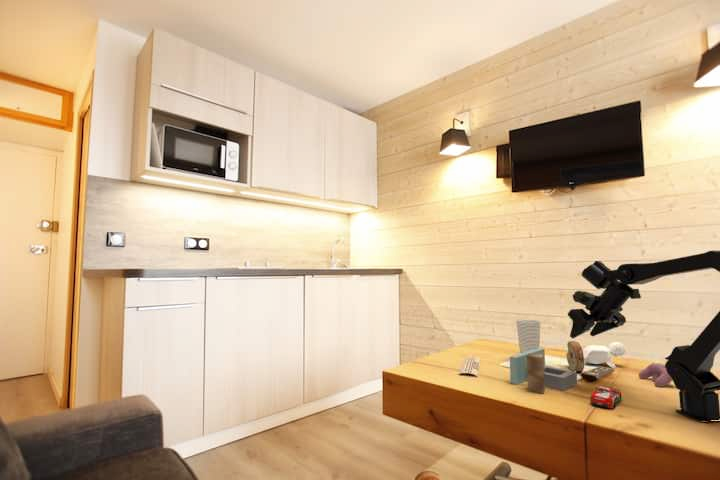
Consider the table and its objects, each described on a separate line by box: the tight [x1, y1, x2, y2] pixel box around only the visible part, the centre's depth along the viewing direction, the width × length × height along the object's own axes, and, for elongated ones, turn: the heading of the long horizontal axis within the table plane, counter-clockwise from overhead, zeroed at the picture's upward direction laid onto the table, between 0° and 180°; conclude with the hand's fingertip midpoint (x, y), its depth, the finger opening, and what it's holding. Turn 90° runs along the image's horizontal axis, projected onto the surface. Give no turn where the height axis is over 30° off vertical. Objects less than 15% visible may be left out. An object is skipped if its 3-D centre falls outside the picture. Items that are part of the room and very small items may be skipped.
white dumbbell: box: [582, 341, 627, 369], centre depth 131 cm, size 9×8×15 cm
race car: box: [589, 385, 622, 409], centre depth 94 cm, size 13×5×4 cm, turn 133°
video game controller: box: [638, 362, 673, 388], centre depth 110 cm, size 10×5×7 cm, turn 169°
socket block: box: [544, 365, 578, 392], centre depth 109 cm, size 10×10×4 cm
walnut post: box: [527, 353, 546, 394], centre depth 103 cm, size 4×4×10 cm
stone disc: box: [565, 340, 585, 372], centre depth 124 cm, size 10×4×10 cm, turn 163°
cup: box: [515, 319, 541, 354], centre depth 135 cm, size 8×8×16 cm
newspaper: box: [458, 356, 481, 378], centre depth 127 cm, size 24×7×2 cm, turn 159°
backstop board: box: [509, 347, 546, 386], centre depth 115 cm, size 2×20×8 cm, turn 130°
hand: (581, 336), depth 111 cm, fingers open, 9 cm apart
